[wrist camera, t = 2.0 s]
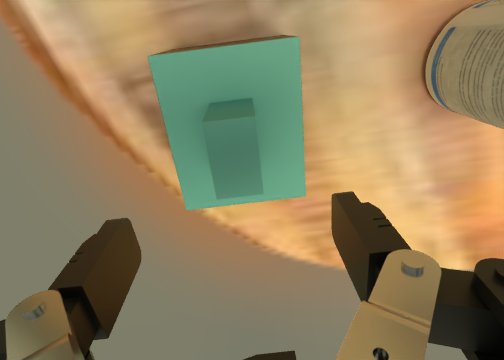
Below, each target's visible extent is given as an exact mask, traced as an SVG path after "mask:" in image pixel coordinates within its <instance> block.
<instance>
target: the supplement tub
mask: <svg viewBox="0 0 504 360" xmlns="http://www.w3.org/2000/svg"><path fill="white" fill-rule="evenodd" d="M425 74H426V83H427V87H428V90H429V92H430V94H431V96H432V97H433V99H434V100H435V101H436V102H437V103H438V104H439V105H441V106H442V107H444V108H446V109H448V110H451V111H453V112H456V113H459V114H462V115H465V116H467V117H470V118H473V119H476V120H479V121H481V122H484V123H487V124H490V125H493V126H496V127H499V128H501V129H504V0H488V1H484V2H481V3H478V4H475V5H473V6H471V7H469V8H467V9H465V10H464V11H462V12H461V13H459V14H458V15H457V16H455V17H454V18H453V19H452V20H451V21H450V22H449V23H448V24H447V25H446V26H445V27H444V29H443V30H442V31H441V33H440V34H439V35H438V37H437V39H436V40H435V42H434V44H433V46H432V48H431V50H430V53H429V55H428V59H427V63H426V71H425Z"/></svg>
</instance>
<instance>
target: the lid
mask: <svg viewBox="0 0 504 360" xmlns="http://www.w3.org/2000/svg"><path fill="white" fill-rule="evenodd" d="M148 60H149V64H150V68H151V72H152V76H153V80H154V84H155V88H156V91H157V95H158V99H159V103H160V107H161V111H162V115H163V119H164V123H165V127H166V131H167V135H168V139H169V143H170V147H171V151H172V155H173V159H174V163H175V167H176V171H177V174H178V178H179V182H180V186H181V190H182V194H183V198H184V202H185V206H186V210H194V209H202V208H211V207H219V206H228V205H236V204H245V203H253V202H262V201H270V200H279V199H287V198H296V197H305V196H306V186H305V161H304V137H303V113H302V89H301V65H300V40H299V37H297V36H296V37H289V38H281V39H273V40H266V41H258V42H250V43H242V44H235V45H227V46H219V47H212V48H204V49H196V50H188V51H181V52H173V53H165V54H158V55H151V56H148Z"/></svg>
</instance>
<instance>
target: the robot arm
mask: <svg viewBox="0 0 504 360" xmlns="http://www.w3.org/2000/svg"><path fill="white" fill-rule="evenodd" d="M332 235H333V239H334V242H335V245H336V247H337V249H338V251H339V253H340V256H341V258H342V260H343V262H344V265H345V267H346V269H347V271H348V274H349V276H350V278H351V280H352V282H353V285H354V287H355V289H356V291H357V294H358V296H359V298H360V300H361V304H360V306H359V308H358V310H357V313H356V315H355V317H354V320H353V322H352V324H351V326H350V328H349V330H348V333H347V335H346V338H345V339H344V342H343V344H342V346H341V348H340V351H339V353H338V355H337V357H336V360H424V357H425V353H426V348H427V343H433V344H438V345H444V346H449V347H454V348H459V349H461V350H462V352H463V353H464V355H465V356H466V358H467V359H468V360H504V259H497V258H488V259H483V260H481V261H479V262H478V263H477V264H476V266H475V269H474V272H470V271H461V270H453V269H446V268H441V267H440V266H439V264H438V263H437V262H436V261H435V260H434V259H433V258H431V257H430V256H428V255H426V254H424V253H422V252H419V251H415V250H412V249H411V248H410V247H409V245H408V244H407V243H406V242H405V240H404V239H403V238H402V237H401V235H400V234H399V233H398V232H397V230H396V229H395V228H394V226H392V224H391V223H390V221H389V220H388V219H386V216H385V215H384V214H383V213H382V211H381V210H380V209H379V208H377V207H376V206H374V205H372V204H370V203H369V202H367V203H361V202H360V201H359V199H358V198H357V196H356V195H355V194H354V192H352V191H351V192H343V193H334V194H332ZM140 263H141V249H140V246H139V244H138V241H137V238H136V235H135V232H134V230H133V227H132V224H131V222H130V220H129V219H128V218H121V219H112V220H107V221H106V222H105V223H104V224H103V226H102V227H101V228H100V230H99V231H98V233H97V234H94V235H93V236H91V237H90V238H89V239H88V240H86V241H85V242H84V243H82V245H81V246H80V248H79V249H78V250H77V252H76V253H75V255H73V257H72V258H71V259H70V261H69V263H68V264H67V265H66V266H65V267H64V269H63V270H62V271H61V273H60V274H59V275H58V277H57V278H56V279H55V281H54V282H53V283H52V285H51V286H50V287H49V289H48V290H46V291H42V292H38V293H36V294H33V295H32V296H29V297H28V298H26V299H25V300H23V301H21V302H20V303H19V304H18V305H16V306H15V307H14V308H13V309H12V310H11V312H10V313H9V314H8V316H7V318H6V319H5V320H2V321H0V360H95V359H94V356H93V353H92V351H91V349H90V346H91V344H92V342H93V340H98V339H107V338H109V335H110V333H111V331H112V329H113V326H114V324H115V322H116V319H117V317H118V315H119V312H120V310H121V307H122V305H123V303H124V301H125V299H126V296H127V294H128V292H129V289H130V287H131V285H132V282H133V280H134V278H135V275H136V273H137V271H138V268H139V266H140ZM244 360H296V355H295V351H287V352H278V353H268V354H259V355H255V356H252V357H249V358H247V359H244Z"/></svg>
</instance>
